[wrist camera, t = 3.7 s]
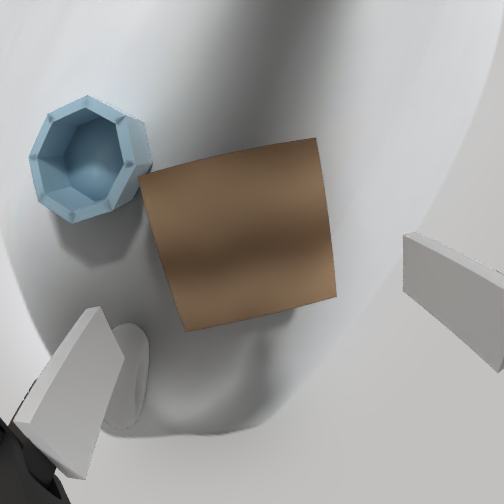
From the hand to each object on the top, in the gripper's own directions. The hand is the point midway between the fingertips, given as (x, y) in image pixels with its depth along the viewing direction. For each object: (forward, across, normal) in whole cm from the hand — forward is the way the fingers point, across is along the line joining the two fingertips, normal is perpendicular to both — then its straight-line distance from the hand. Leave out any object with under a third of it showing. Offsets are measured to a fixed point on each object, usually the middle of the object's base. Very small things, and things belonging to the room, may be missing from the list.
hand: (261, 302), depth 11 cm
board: (+10, 0, 0) cm, 10 cm away
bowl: (+14, -10, +8) cm, 19 cm away
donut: (+14, -13, -10) cm, 21 cm away
